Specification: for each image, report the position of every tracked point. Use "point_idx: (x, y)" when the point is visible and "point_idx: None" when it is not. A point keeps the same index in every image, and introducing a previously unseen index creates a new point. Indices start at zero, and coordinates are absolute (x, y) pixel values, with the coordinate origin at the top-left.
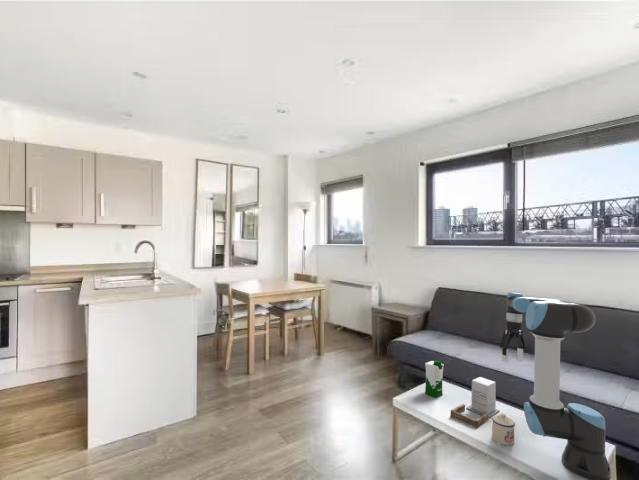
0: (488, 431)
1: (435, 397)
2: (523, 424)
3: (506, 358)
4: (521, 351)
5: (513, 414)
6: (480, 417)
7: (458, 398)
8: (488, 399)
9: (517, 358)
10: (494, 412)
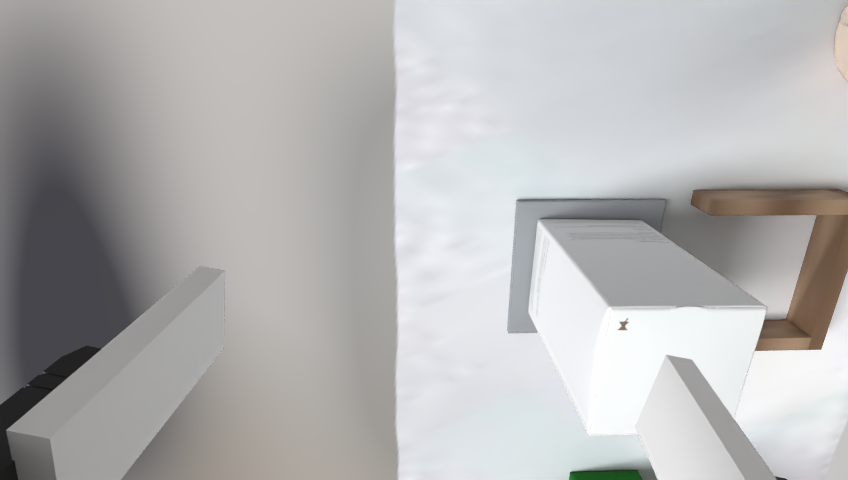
0: (833, 131)
1: (638, 474)
2: (581, 28)
3: (718, 415)
4: (104, 406)
5: (484, 129)
6: (794, 211)
7: (538, 410)
8: (685, 255)
9: (209, 360)
10: (575, 209)
